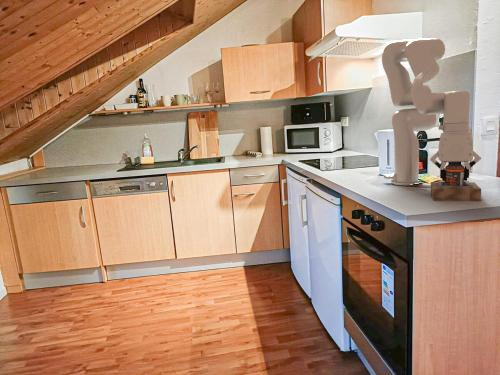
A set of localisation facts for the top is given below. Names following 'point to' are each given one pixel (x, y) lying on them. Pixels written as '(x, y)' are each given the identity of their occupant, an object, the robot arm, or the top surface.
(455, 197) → the jig
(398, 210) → the top surface
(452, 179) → the supplement bottle
